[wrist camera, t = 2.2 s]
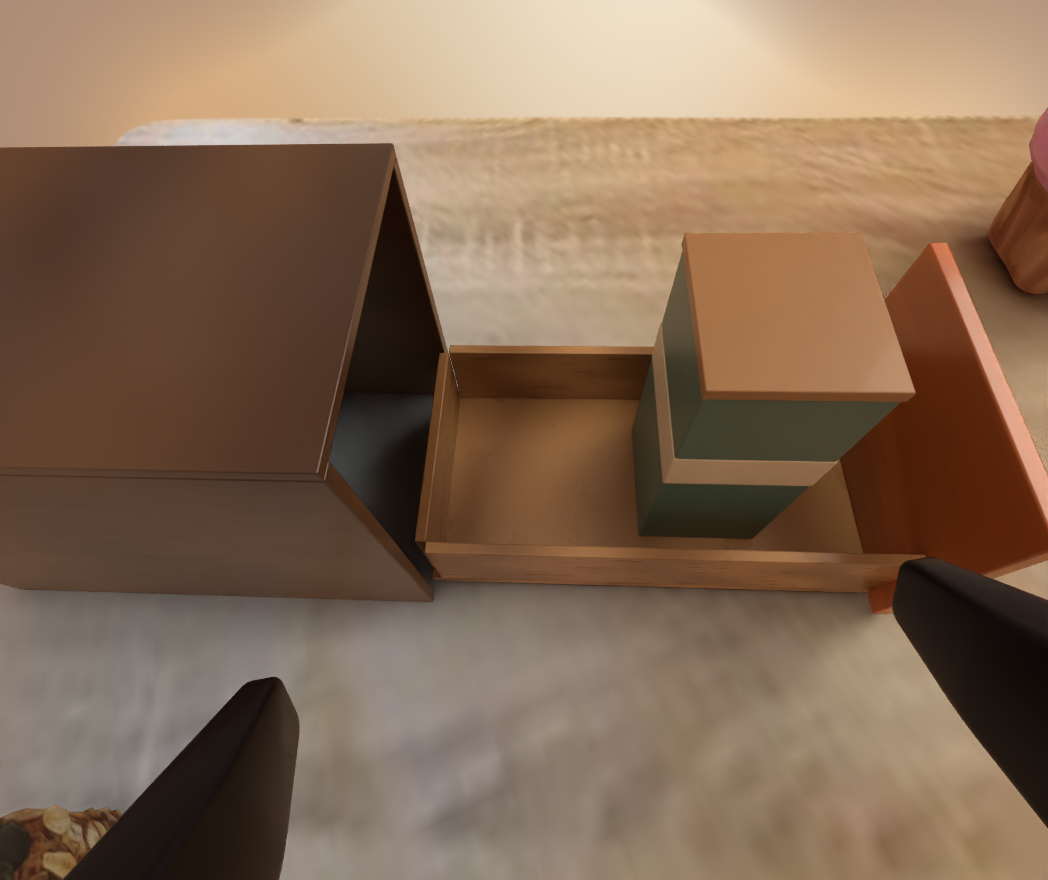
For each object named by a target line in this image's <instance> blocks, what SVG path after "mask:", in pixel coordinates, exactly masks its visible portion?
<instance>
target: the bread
mask: <svg viewBox="0 0 1048 880" xmlns="http://www.w3.org/2000/svg"><path fill="white" fill-rule="evenodd" d="M121 816H122V815H121V814H120V812H119V811H118V810H114V811H111V810H110V809H109V808H107V807H106V808H103V809H100V810H97V811H95V810H94V809H92V808H90V809H88V810H86V811H85V812H68V811H67V810H65V809H63V808H61V807H59V806H57V805H53V806H51V807H49V808H47V809H45V810H44V809H31V808H27V809H23V810H19V811H15V812H12V813H10V814H8V815H6V816H4V817H2V818H0V880H62V879H63V878H64V877H65V876H66V875H67V874H68V873H69V872H70V871H71V870H72V869H73V868H74V866H75V865H76V864H77V863H78V862H79V861H80V860H81V859H82V858H83V857H84V856H85V855H86V854H87V852H88V851H89V850H90V849H91V848H92V847H93V846H94V845H95V844H96V843H97V842H98V841H99V840H100V839H101V837H102V836H103V835H104V834H105V833H106V832H107V831H108V830H109V829H110V828H111V827H112V826H113V825H114V824H115V822H116V821H117V820H118V819H119V818H120V817H121Z"/></svg>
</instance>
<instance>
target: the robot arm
mask: <svg viewBox="0 0 1048 880" xmlns="http://www.w3.org/2000/svg"><path fill="white" fill-rule="evenodd" d="M892 610H893V614H894V616H895V618H896V620H897V622H898V624H899V625H900V627H901V628H902V630H903V631H904V633H905V634H906V636H907V637H908V639H909V640H910V642H911V643H912V645H913V646H914V648H915V649H916V651H917V652H918V654H919V656H920V657H921V659H922V660H923V662H924V663H925V665H926V666H927V668H928V669H929V671H930V672H931V674H932V675H933V677H934V678H935V680H936V681H937V683H938V684H939V686H940V687H941V689H942V691H943V692H944V694H945V695H946V697H947V698H948V700H949V701H950V703H951V704H952V706H953V707H954V708H955V710H956V711H957V713H958V714H959V716H960V717H961V718H962V720H963V721H964V722H965V724H966V725H967V726H968V728H969V729H970V730H971V732H972V733H973V734H974V736H975V737H976V738H977V739H978V741H979V742H980V743H981V744H982V746H983V747H984V748H985V750H986V751H987V752H988V753H989V755H990V756H991V757H992V758H993V760H994V761H995V762H996V763H997V765H998V766H999V767H1000V768H1001V770H1002V771H1003V772H1004V774H1005V775H1006V776H1007V777H1008V779H1009V780H1010V781H1011V782H1012V784H1013V785H1014V786H1015V787H1016V789H1017V790H1018V791H1019V792H1020V794H1021V795H1022V796H1023V798H1024V799H1025V800H1026V801H1027V803H1028V804H1029V805H1030V806H1031V808H1032V809H1033V810H1034V811H1035V813H1036V814H1037V815H1038V817H1039V818H1040V819H1041V820H1042V822H1043V823H1044V824H1045V825H1046V827H1047V828H1048V600H1046V599H1043V598H1041V597H1038V596H1036V595H1033V594H1030V593H1028V592H1025V591H1023V590H1020V589H1017V588H1015V587H1012V586H1010V585H1007V584H1004V583H1002V582H999V581H997V580H994V579H991V578H989V577H986V576H984V575H981V574H978V573H976V572H973V571H971V570H968V569H965V568H963V567H960V566H958V565H955V564H952V563H950V562H947V561H945V560H942V559H939V558H936V557H924V558H918V559H913V560H907V561H905V562H903V564H902V565H901V566H900V568H899V572H898V576H897V581H896V585H895V590H894V594H893V599H892ZM299 731H300V730H299V718H298V715H297V712H296V710H295V708H294V706H293V703H292V701H291V699H290V697H289V695H288V693H287V691H286V688H285V686H284V684H283V682H282V681H281V680H280V679H279V678H277V677H270V678H264V679H259V680H253V681H250V682H247V683H246V684H245V685H243V686H242V687H241V688H240V689H239V690H238V691H237V693H236V694H235V695H234V696H233V697H232V698H231V699H230V700H229V701H228V702H227V703H226V704H225V705H224V706H223V708H222V709H221V710H220V711H219V712H218V713H217V714H216V715H215V716H214V717H213V718H212V719H211V720H210V722H209V723H208V724H207V725H206V726H205V727H204V728H203V729H202V730H201V731H200V732H199V733H198V734H197V735H196V737H195V738H194V739H193V740H192V741H191V742H190V743H189V744H188V745H187V746H186V747H185V748H184V749H183V751H182V752H181V753H180V754H179V755H178V756H177V757H176V758H175V759H174V760H173V761H172V762H171V763H170V764H169V766H168V767H167V768H166V769H165V770H164V771H163V772H162V773H161V774H160V775H159V776H158V777H157V778H156V779H155V781H154V782H153V783H152V784H151V785H150V786H149V787H148V788H147V789H146V790H145V791H144V792H143V793H142V795H141V796H140V797H139V798H138V799H137V800H136V801H135V802H134V803H133V804H132V805H131V806H130V807H129V808H128V810H127V811H126V812H125V813H124V814H123V815H122V816H121V817H120V818H119V819H118V820H117V821H116V822H115V824H114V825H113V826H112V827H111V828H110V829H109V830H108V831H107V832H106V833H105V834H104V835H103V836H102V837H101V839H100V840H99V841H98V842H97V843H96V844H95V845H94V846H93V847H92V848H91V849H90V850H89V851H88V852H87V854H86V855H85V856H84V857H83V858H82V859H81V860H80V861H79V862H78V863H77V864H76V865H75V866H74V868H73V869H72V870H71V871H70V872H69V873H68V874H67V875H66V876H65V877H64V878H63V879H62V880H279V878H280V873H281V868H282V863H283V858H284V852H285V846H286V839H287V832H288V823H289V815H290V807H291V798H292V790H293V782H294V774H295V765H296V757H297V749H298V740H299Z"/></svg>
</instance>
